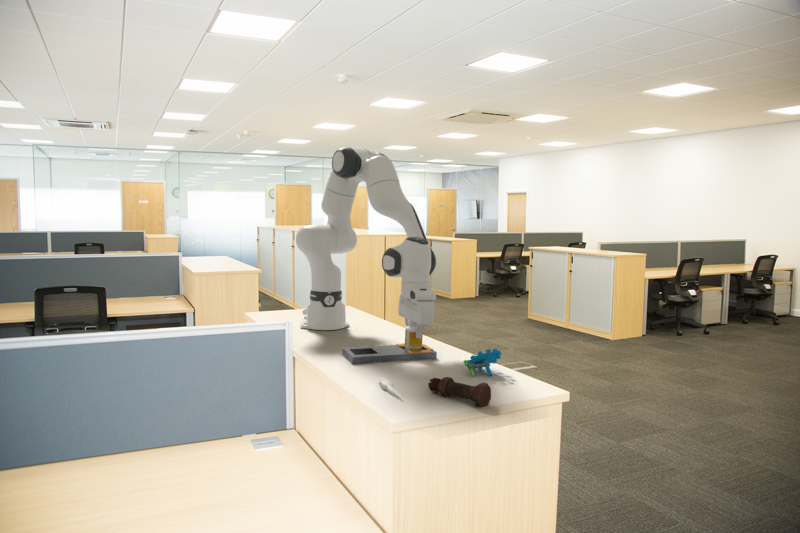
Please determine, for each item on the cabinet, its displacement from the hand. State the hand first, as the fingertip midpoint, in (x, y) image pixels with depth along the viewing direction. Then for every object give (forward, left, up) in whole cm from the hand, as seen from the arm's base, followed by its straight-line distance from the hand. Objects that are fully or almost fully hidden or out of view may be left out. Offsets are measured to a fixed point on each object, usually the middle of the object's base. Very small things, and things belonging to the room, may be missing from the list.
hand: (413, 335), depth 159 cm
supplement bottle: (0, 0, -5) cm, 5 cm away
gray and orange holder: (0, -8, -6) cm, 10 cm away
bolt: (+40, -5, -7) cm, 41 cm away
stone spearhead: (+32, -19, -7) cm, 37 cm away
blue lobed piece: (+23, +11, -6) cm, 26 cm away
